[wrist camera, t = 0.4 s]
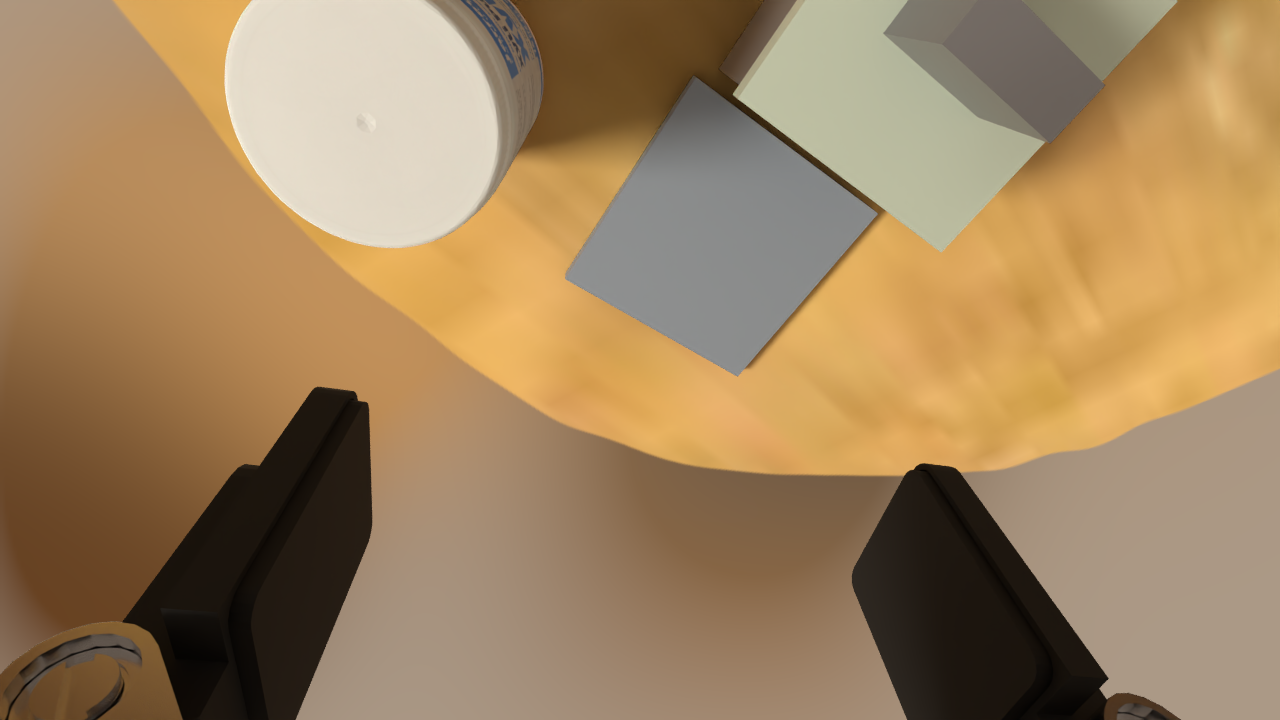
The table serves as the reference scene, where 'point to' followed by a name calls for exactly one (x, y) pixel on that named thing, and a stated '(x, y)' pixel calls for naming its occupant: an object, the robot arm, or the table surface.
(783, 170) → the mat
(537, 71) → the supplement tub
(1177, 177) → the table surface
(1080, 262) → the table surface
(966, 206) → the lid
